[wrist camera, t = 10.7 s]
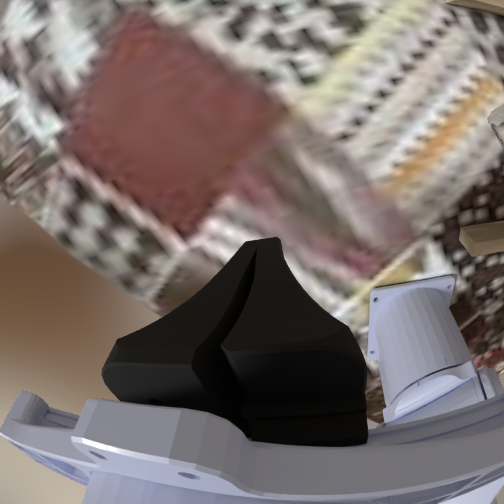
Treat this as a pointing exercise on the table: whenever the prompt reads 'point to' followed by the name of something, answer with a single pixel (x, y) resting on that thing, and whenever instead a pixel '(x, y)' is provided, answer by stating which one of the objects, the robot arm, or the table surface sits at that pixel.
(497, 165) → the table surface
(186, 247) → the table surface
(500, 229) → the frame
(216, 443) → the robot arm
